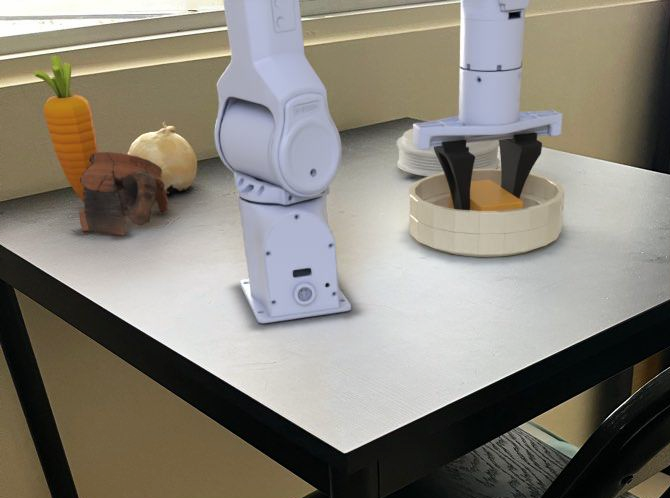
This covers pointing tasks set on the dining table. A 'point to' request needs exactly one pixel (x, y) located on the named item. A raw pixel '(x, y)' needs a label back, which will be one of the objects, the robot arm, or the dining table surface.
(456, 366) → the dining table surface
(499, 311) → the dining table surface
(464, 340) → the dining table surface
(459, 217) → the bowl
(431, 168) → the lid
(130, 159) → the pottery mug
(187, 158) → the onion
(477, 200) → the orange rectangular block
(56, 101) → the carrot
